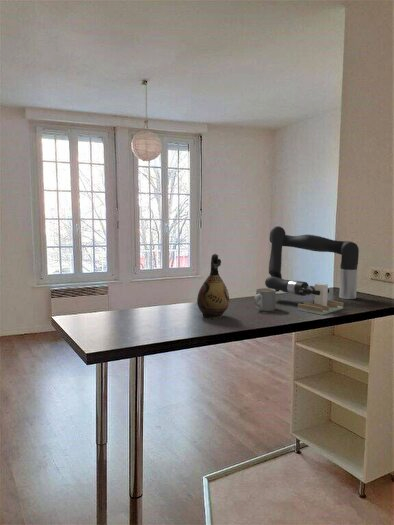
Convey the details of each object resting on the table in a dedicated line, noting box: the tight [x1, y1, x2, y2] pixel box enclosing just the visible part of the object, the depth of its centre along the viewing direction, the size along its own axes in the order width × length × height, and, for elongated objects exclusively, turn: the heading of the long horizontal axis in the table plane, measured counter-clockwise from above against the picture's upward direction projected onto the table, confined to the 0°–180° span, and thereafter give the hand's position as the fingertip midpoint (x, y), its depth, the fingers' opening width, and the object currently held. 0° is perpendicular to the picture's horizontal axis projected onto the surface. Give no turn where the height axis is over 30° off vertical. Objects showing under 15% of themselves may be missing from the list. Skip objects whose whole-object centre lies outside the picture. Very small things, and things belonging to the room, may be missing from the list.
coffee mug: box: [253, 287, 277, 312], centre depth 208 cm, size 13×10×10 cm
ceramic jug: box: [196, 253, 230, 320], centre depth 192 cm, size 17×15×30 cm
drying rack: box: [297, 299, 344, 316], centre depth 208 cm, size 20×14×3 cm
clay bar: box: [313, 282, 329, 306], centre depth 207 cm, size 4×5×12 cm
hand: (324, 292), depth 206 cm, fingers open, 8 cm apart
